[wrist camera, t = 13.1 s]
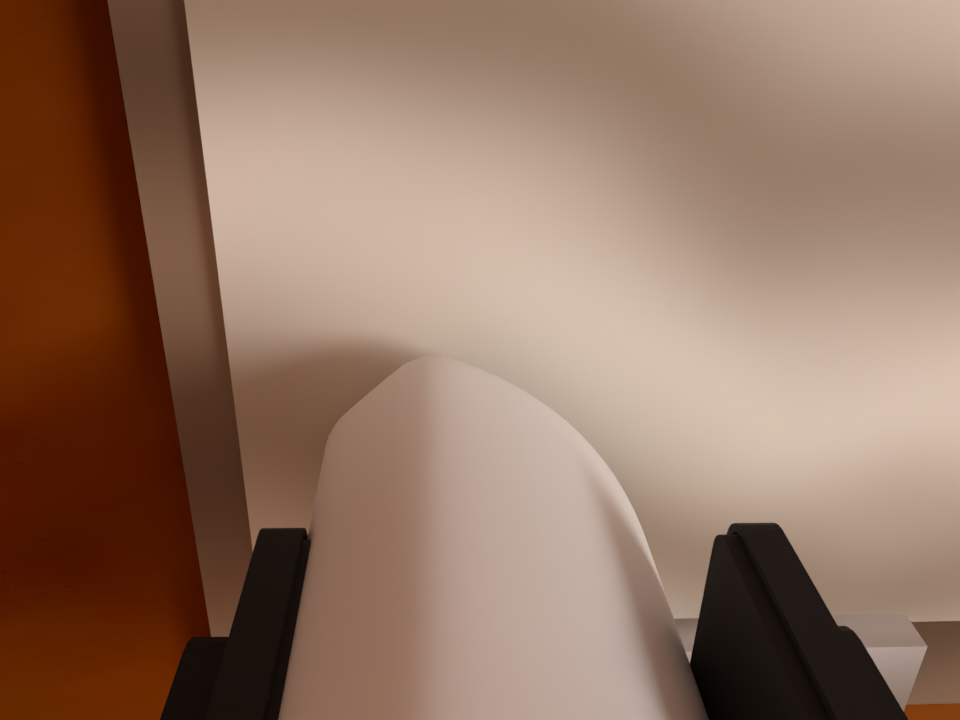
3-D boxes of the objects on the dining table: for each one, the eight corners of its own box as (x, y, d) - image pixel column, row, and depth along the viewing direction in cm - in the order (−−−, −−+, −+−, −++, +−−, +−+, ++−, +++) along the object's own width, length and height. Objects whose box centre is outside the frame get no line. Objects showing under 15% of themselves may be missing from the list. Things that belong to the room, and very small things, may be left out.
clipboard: (-58, -1163, 7) (-182, -1440, 6) (1694, -985, 8) (1970, -1183, 7) (231, 697, 17) (213, 767, 16) (989, 679, 18) (1037, 742, 17)
